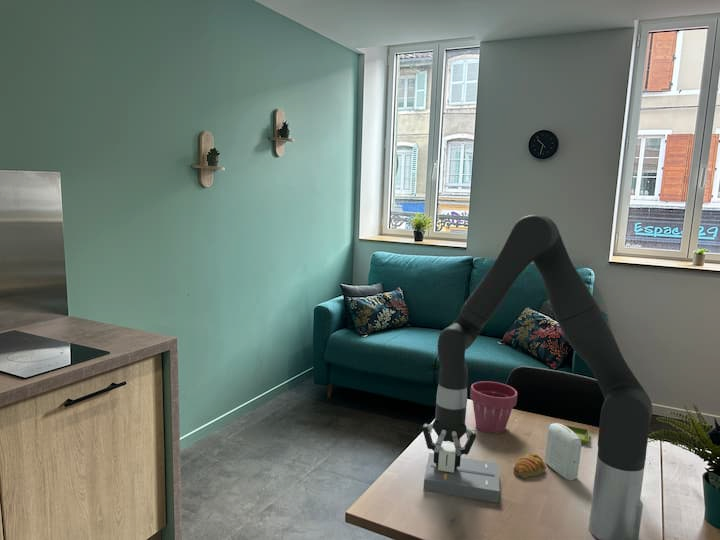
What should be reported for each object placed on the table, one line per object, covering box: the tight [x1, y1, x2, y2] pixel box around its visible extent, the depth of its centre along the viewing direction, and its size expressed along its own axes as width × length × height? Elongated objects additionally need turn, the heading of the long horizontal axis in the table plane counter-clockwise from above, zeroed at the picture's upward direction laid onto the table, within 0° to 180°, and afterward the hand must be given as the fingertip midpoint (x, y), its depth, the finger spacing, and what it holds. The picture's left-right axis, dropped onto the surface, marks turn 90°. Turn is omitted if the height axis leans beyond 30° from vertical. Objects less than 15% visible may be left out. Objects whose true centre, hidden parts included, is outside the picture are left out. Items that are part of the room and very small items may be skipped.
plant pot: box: [469, 380, 518, 434], centre depth 168 cm, size 14×14×13 cm
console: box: [422, 452, 501, 504], centre depth 136 cm, size 18×14×3 cm
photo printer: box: [544, 422, 582, 481], centre depth 143 cm, size 10×4×12 cm, turn 17°
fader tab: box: [438, 442, 456, 473], centre depth 136 cm, size 4×5×5 cm
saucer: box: [562, 424, 590, 445], centre depth 165 cm, size 9×9×2 cm
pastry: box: [513, 453, 547, 479], centre depth 143 cm, size 9×7×4 cm
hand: (446, 465), depth 136 cm, fingers closed on fader tab, 4 cm apart
